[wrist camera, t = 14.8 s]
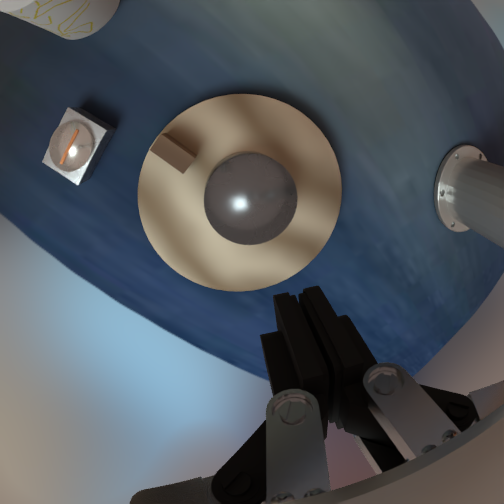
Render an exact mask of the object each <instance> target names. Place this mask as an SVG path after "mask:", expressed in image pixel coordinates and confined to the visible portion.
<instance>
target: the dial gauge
mask: <svg viewBox="0 0 504 504" xmlns="http://www.w3.org/2000/svg"><path fill="white" fill-rule="evenodd" d="M115 131H116V129H115V128H114V127H112V126H110V125H109V124H107V123H105V122H104V121H102V120H100V119H99V118H97V117H95V116H94V115H92V114H90V113H89V112H87V111H85V110H84V109H82V108H74V107H68V109H67V111H66V112H65V114H64V116H63V118H62V120H61V122H60V124H59V126H58V128H57V129H56V130H55V132H54V133H53V135H52V137H51V140H50V145H49V147H48V150H47V152H46V154H45V157H44V159H43V161H42V162H43V163H45V164H46V165H48V166H49V167H51V168H52V169H54V170H55V171H57V172H58V173H60V174H61V175H63V176H64V177H66V178H68V179H69V180H71V181H72V182H74V183H75V184H77V185H80V184H82V183H83V182H85V181H87V180H89V179H90V177H91V175H92V173H93V171H94V169H95V167H96V165H97V163H98V161H99V160H100V158H101V156H102V154H103V152H104V150H105V148H106V147H107V145H108V143H109V141H110V140H111V138H112V136H113V134H114V133H115Z"/></svg>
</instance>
